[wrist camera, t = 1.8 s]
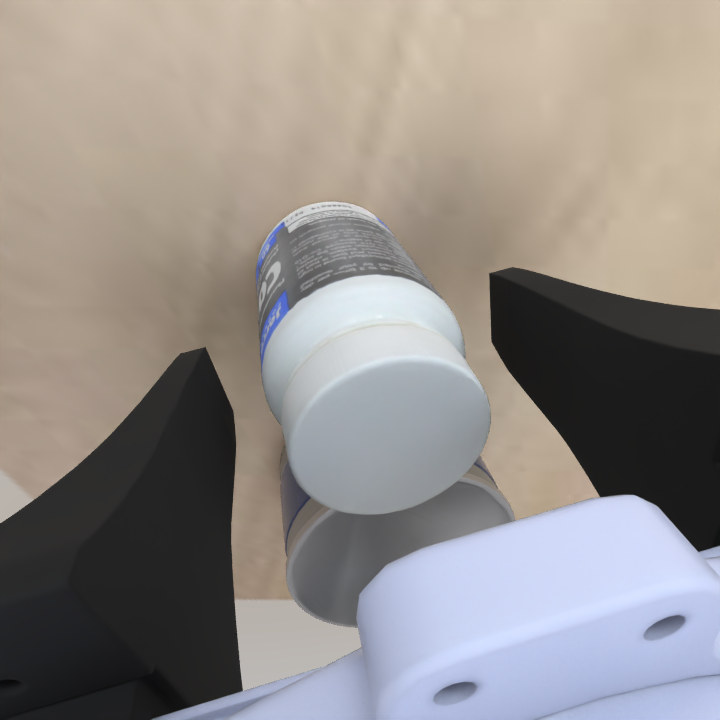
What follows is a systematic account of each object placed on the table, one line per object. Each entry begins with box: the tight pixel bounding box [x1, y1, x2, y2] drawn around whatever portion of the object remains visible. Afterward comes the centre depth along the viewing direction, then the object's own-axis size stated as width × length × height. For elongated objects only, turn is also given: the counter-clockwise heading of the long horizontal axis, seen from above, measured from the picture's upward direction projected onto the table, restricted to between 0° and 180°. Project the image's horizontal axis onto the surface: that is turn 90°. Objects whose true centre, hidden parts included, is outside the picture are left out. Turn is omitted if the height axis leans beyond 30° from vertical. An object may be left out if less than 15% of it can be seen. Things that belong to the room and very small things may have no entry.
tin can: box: [280, 444, 515, 628], centre depth 19 cm, size 8×8×5 cm
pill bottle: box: [256, 202, 491, 515], centre depth 13 cm, size 5×5×8 cm
